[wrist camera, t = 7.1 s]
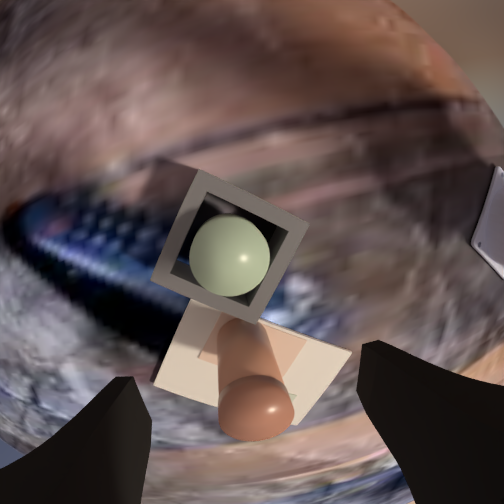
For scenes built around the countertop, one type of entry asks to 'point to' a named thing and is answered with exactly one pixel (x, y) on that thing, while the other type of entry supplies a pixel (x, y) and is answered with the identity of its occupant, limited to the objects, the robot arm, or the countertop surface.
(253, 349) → the brown round-topped peg
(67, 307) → the countertop surface
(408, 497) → the countertop surface
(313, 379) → the sheet
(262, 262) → the button
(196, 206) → the button housing
